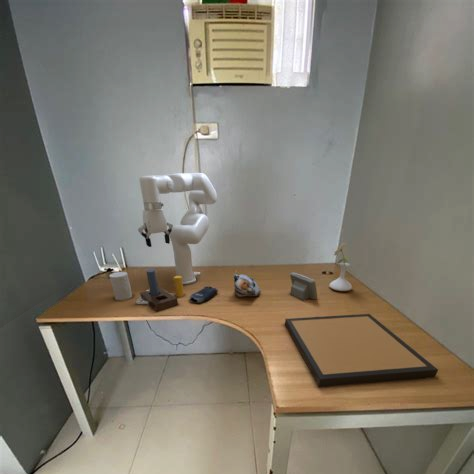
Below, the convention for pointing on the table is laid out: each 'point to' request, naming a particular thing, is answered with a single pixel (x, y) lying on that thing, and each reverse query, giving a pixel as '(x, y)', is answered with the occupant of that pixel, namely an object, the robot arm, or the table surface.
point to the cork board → (355, 351)
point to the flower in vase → (341, 282)
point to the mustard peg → (178, 286)
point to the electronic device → (203, 294)
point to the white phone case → (141, 301)
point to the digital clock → (303, 286)
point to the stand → (159, 299)
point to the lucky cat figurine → (245, 286)
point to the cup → (120, 285)
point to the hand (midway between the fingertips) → (158, 244)
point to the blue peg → (152, 282)
